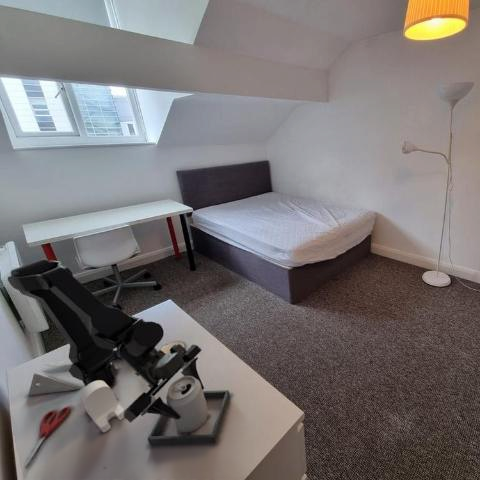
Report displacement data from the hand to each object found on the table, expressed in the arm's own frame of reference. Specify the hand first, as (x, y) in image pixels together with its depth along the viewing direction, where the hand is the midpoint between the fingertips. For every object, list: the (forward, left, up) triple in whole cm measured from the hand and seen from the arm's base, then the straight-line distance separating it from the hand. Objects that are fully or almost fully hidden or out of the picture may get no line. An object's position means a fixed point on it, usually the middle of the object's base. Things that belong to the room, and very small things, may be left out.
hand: (191, 403), depth 65 cm
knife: (-33, +32, -5) cm, 46 cm away
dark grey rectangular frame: (-1, +1, -7) cm, 7 cm away
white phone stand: (-22, +12, -7) cm, 26 cm away
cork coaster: (-8, +28, -7) cm, 30 cm away
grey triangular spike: (-31, +26, -8) cm, 41 cm away
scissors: (-35, +11, -5) cm, 37 cm away
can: (-1, +1, -7) cm, 7 cm away
